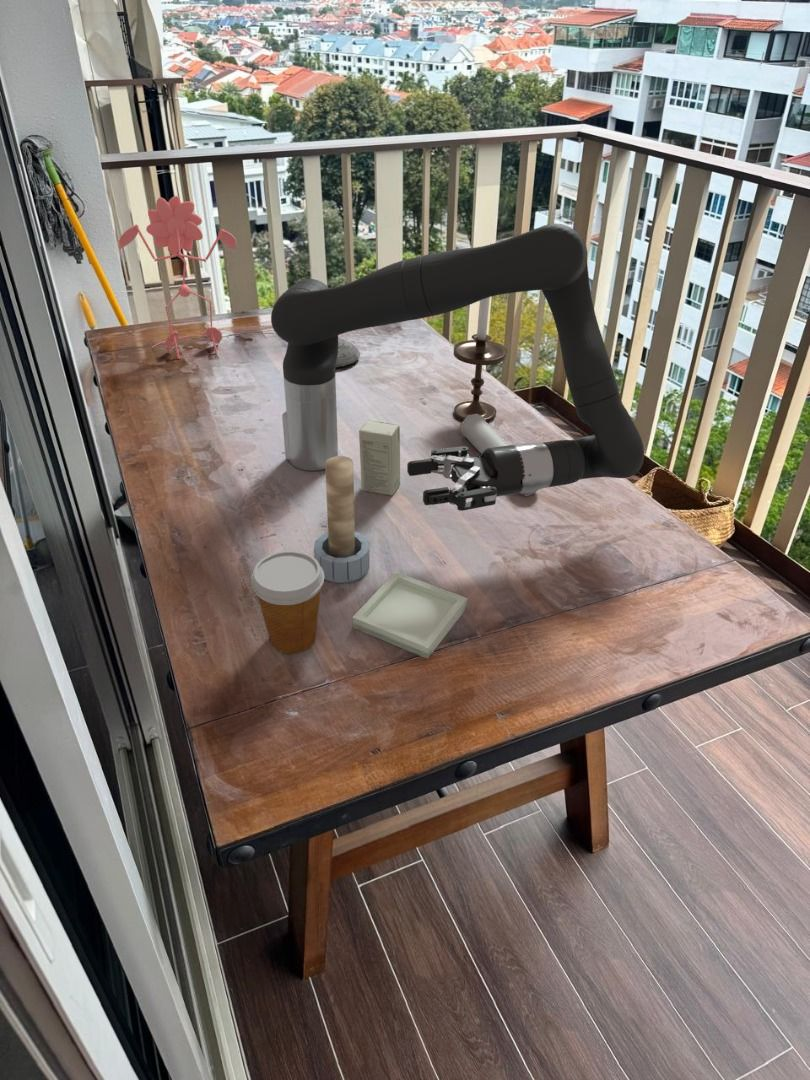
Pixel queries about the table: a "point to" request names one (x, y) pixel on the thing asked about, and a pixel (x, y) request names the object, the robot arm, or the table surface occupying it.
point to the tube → (483, 436)
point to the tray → (410, 614)
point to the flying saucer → (346, 353)
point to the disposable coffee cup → (289, 598)
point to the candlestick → (479, 365)
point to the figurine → (178, 248)
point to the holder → (343, 560)
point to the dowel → (340, 506)
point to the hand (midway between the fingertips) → (415, 483)
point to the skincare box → (380, 457)
